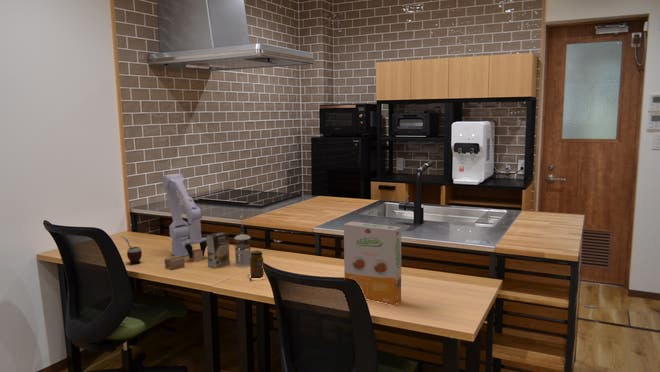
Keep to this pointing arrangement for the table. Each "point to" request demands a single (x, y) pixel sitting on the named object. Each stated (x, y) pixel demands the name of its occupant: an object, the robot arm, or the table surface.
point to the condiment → (256, 264)
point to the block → (197, 255)
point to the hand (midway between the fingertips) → (196, 257)
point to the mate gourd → (133, 254)
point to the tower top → (174, 260)
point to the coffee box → (218, 249)
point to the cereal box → (374, 260)
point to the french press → (242, 251)
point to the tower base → (174, 266)
